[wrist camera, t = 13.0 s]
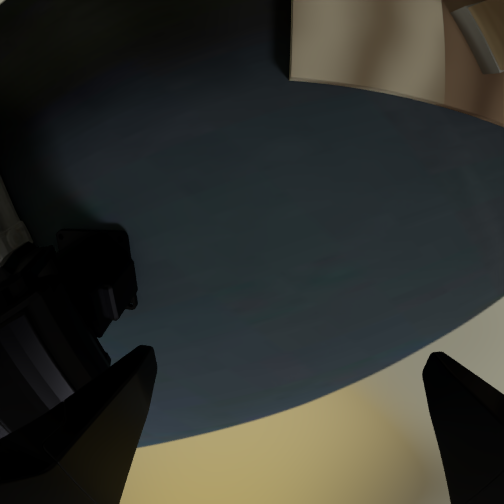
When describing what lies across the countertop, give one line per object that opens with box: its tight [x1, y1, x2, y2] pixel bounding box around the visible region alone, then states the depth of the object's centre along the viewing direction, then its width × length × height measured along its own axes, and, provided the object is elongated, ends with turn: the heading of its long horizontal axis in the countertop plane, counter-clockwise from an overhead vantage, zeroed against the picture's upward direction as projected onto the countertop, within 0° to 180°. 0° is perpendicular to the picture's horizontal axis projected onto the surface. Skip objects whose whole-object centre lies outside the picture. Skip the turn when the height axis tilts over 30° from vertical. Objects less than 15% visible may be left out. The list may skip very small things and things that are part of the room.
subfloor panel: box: [289, 0, 504, 127], centre depth 14 cm, size 22×13×2 cm, turn 88°
